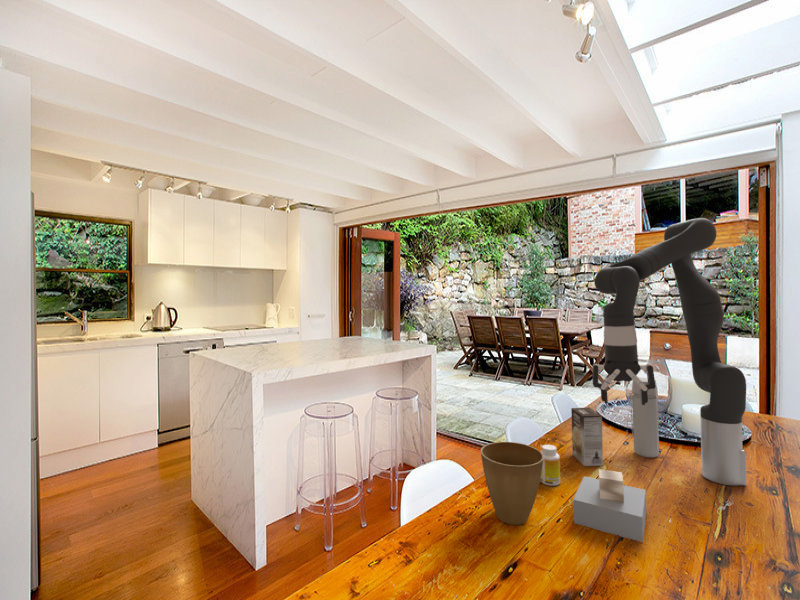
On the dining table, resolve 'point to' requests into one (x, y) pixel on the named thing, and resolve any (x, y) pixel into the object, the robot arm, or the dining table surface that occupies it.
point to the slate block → (611, 510)
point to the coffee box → (587, 436)
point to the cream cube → (611, 485)
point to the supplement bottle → (550, 466)
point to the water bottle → (645, 422)
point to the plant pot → (512, 479)
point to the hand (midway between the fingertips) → (624, 403)
